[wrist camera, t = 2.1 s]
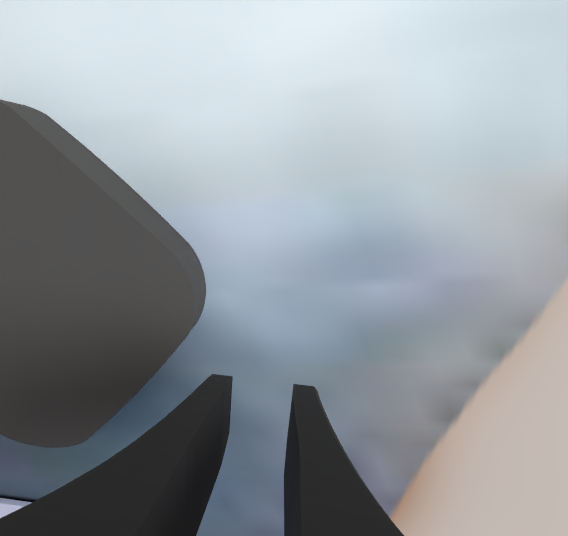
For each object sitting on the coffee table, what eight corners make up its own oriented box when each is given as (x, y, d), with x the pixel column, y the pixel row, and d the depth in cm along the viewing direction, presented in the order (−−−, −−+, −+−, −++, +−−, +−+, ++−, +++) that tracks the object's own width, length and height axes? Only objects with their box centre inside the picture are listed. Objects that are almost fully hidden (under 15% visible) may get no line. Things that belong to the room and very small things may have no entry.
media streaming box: (0, 64, 15) (-70, 40, 13) (239, 282, 18) (225, 303, 15) (-129, 281, 19) (-207, 301, 16) (83, 441, 21) (47, 484, 18)
